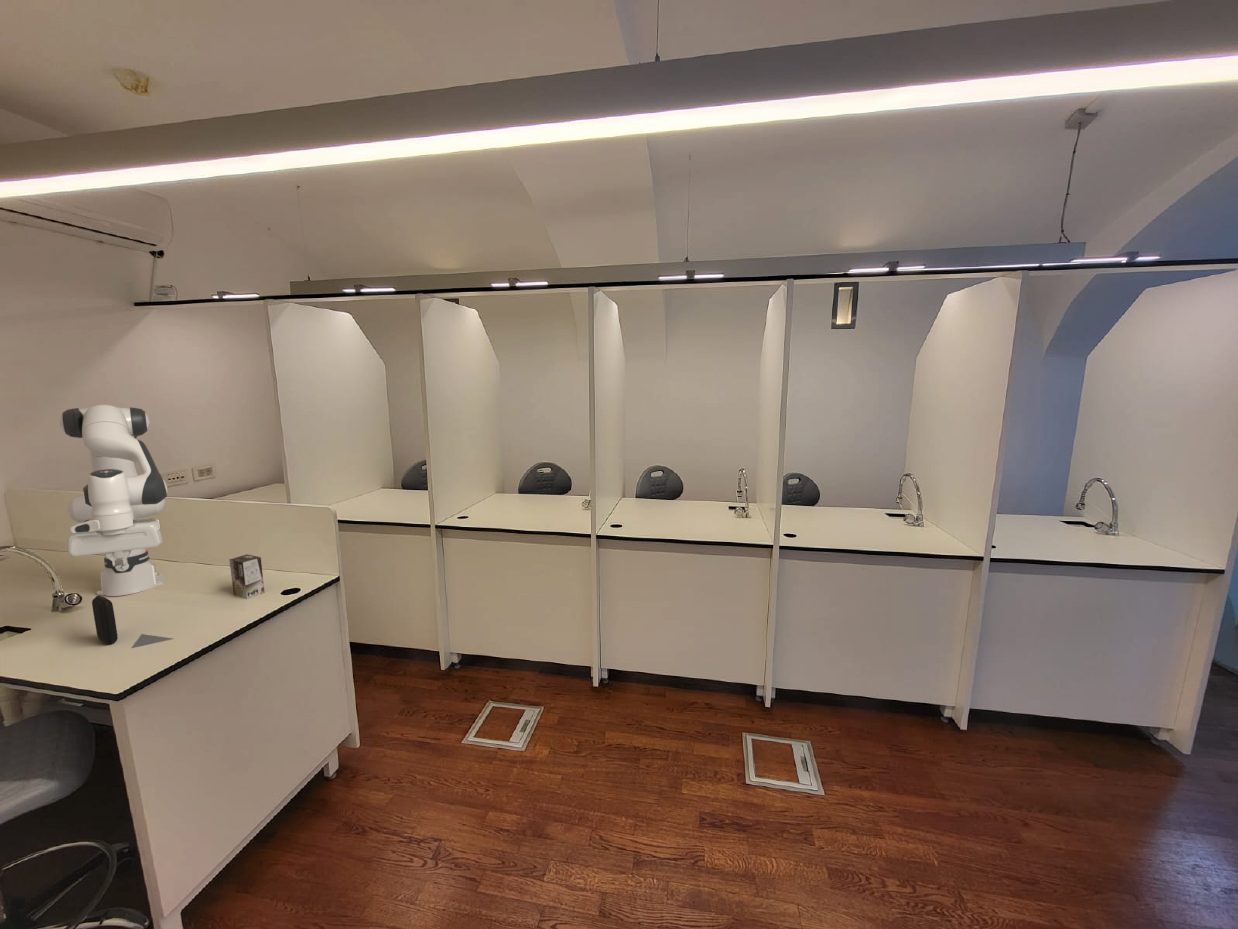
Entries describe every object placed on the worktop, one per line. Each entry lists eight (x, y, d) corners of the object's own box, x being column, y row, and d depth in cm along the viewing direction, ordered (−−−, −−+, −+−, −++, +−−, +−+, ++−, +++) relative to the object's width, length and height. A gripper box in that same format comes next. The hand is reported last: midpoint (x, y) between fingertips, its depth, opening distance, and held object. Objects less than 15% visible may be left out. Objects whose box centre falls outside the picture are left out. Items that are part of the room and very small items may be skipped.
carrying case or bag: (95, 639, 150) (88, 595, 148) (108, 635, 152) (102, 592, 150) (106, 648, 144) (99, 602, 142) (120, 643, 147) (113, 599, 145)
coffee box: (266, 597, 181) (261, 557, 179) (247, 604, 176) (242, 562, 173) (252, 593, 185) (247, 553, 183) (233, 599, 179) (228, 558, 177)
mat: (153, 620, 162) (153, 618, 162) (234, 605, 174) (234, 604, 174) (132, 649, 144) (131, 647, 144) (224, 630, 156) (224, 628, 155)
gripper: (162, 515, 154) (167, 556, 156) (71, 524, 144) (78, 567, 146) (156, 519, 149) (162, 561, 151) (61, 529, 138) (69, 574, 140)
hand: (120, 564), depth 148 cm, fingers closed
